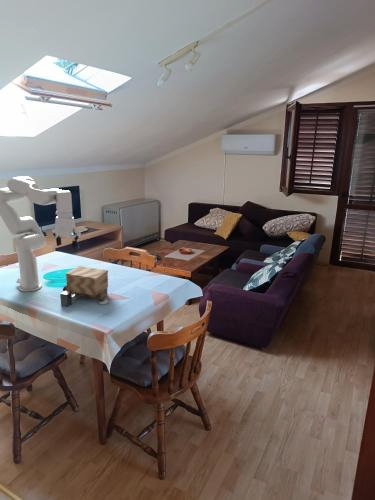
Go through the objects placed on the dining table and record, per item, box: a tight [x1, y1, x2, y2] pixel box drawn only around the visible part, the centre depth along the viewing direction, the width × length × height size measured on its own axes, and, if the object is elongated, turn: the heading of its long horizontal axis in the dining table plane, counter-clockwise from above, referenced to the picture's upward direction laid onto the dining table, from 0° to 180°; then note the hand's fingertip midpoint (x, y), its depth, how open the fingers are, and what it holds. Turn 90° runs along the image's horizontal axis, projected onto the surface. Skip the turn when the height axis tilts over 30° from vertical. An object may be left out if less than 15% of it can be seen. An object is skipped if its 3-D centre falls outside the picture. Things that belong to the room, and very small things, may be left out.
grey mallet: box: [59, 291, 81, 308], centre depth 196 cm, size 4×13×7 cm, turn 163°
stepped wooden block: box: [65, 265, 109, 300], centre depth 201 cm, size 19×13×15 cm
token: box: [98, 298, 109, 306], centre depth 196 cm, size 5×5×2 cm
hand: (66, 246), depth 191 cm, fingers open, 9 cm apart
